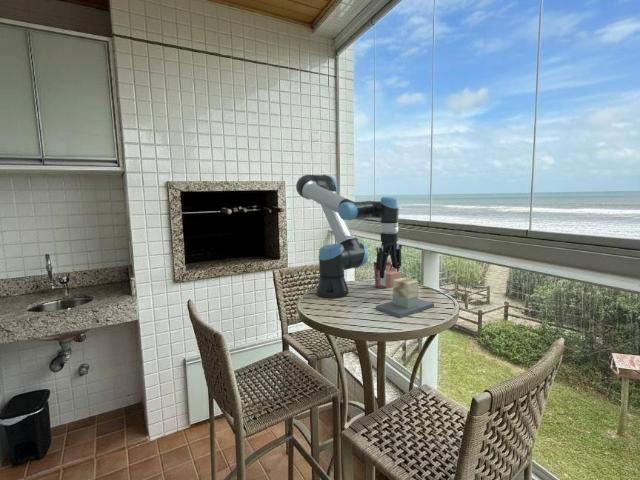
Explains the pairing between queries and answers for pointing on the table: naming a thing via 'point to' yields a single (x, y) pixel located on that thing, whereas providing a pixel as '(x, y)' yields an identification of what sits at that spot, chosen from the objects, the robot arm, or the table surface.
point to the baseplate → (403, 310)
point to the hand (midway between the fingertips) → (388, 283)
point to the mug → (388, 266)
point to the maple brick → (405, 288)
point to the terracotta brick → (390, 277)
